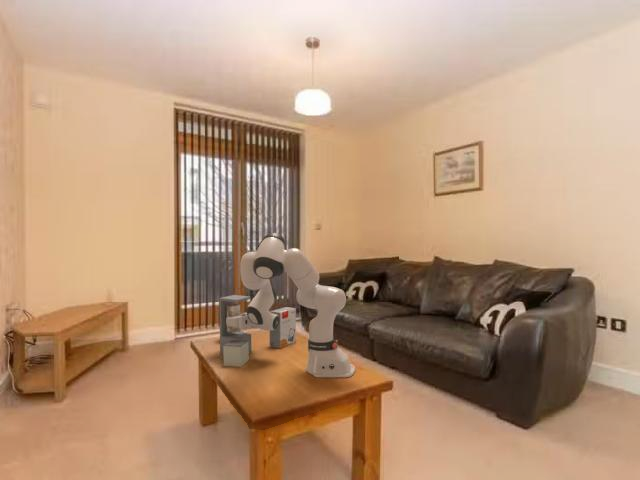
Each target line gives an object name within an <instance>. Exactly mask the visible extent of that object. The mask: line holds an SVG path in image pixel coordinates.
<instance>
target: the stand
mask: <svg viewBox="0 0 640 480" xmlns="http://www.w3.org/2000/svg"><path fill="white" fill-rule="evenodd" d="M223 353H224V355H223V367H225V366H226V367H239V368H241V367H242V366H244V365H245V364H246V363H247V362H249V360H250V357H249V355H250V352H249V341H243V340H231V341H230V342H228V343H226V344H225V345H224V346H223Z"/></svg>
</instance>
